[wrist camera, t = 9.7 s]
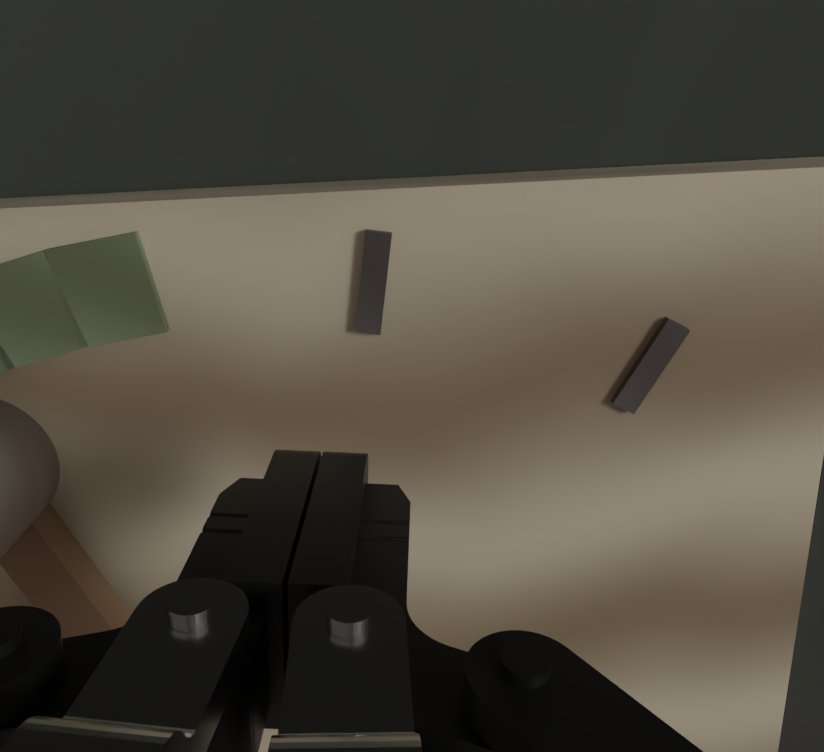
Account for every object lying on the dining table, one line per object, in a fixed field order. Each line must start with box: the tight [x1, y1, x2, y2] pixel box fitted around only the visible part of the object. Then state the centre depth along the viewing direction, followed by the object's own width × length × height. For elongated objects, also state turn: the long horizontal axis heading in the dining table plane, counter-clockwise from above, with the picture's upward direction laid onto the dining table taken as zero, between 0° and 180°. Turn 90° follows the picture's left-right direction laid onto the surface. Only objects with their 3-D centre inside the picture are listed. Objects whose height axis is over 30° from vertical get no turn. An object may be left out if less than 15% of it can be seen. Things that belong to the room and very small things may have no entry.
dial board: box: [0, 157, 824, 752], centre depth 19 cm, size 20×24×2 cm
